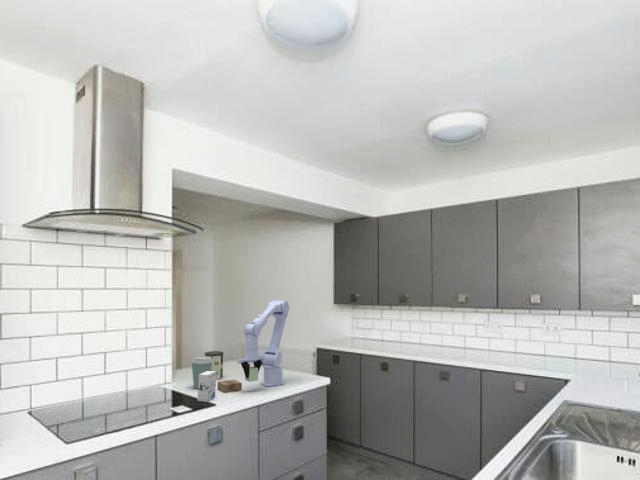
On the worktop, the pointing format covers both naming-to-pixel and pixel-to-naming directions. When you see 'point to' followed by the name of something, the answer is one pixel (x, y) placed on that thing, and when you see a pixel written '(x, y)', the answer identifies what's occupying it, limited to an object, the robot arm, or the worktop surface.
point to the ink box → (206, 386)
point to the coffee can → (216, 362)
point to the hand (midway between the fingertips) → (251, 377)
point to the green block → (252, 374)
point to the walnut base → (229, 386)
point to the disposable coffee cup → (200, 368)
